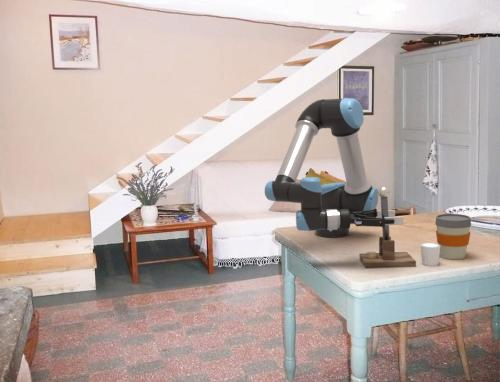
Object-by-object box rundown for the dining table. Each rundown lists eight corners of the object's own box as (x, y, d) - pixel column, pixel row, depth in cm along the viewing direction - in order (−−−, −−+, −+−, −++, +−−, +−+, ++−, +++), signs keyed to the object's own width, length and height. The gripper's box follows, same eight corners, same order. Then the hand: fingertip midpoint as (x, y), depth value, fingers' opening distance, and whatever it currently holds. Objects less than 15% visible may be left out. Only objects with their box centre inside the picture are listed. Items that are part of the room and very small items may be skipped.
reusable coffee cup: (454, 249, 207) (455, 212, 205) (477, 257, 195) (479, 218, 193) (427, 253, 203) (428, 215, 201) (450, 262, 191) (450, 222, 189)
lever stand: (359, 258, 201) (359, 235, 200) (406, 256, 200) (406, 233, 199) (365, 268, 189) (365, 244, 188) (415, 266, 189) (416, 242, 187)
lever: (380, 249, 196) (376, 186, 192) (391, 249, 196) (387, 185, 192) (382, 252, 192) (379, 188, 188) (393, 252, 192) (390, 187, 188)
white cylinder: (421, 266, 189) (421, 247, 188) (419, 260, 195) (419, 242, 194) (441, 266, 187) (441, 247, 186) (438, 260, 194) (439, 242, 193)
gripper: (334, 222, 205) (391, 220, 204) (343, 237, 182) (407, 235, 181) (333, 203, 203) (391, 201, 203) (343, 216, 180) (407, 213, 180)
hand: (398, 217), depth 192 cm, fingers open, 11 cm apart
